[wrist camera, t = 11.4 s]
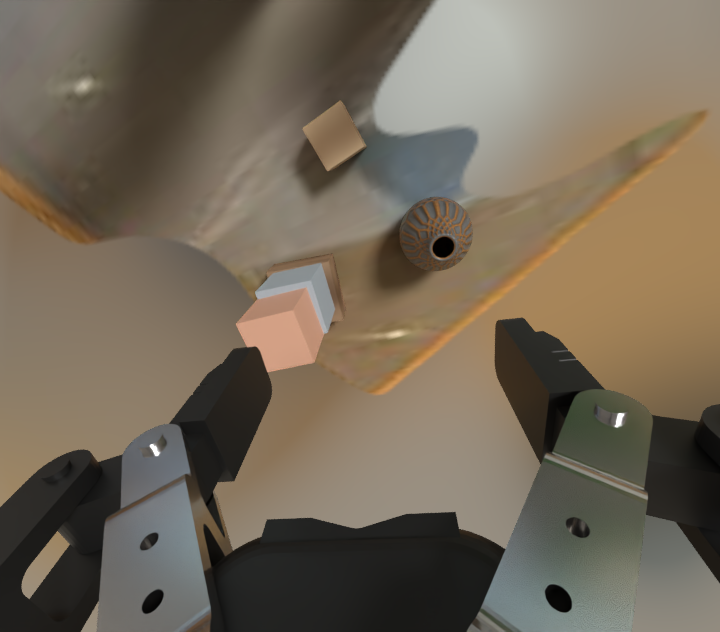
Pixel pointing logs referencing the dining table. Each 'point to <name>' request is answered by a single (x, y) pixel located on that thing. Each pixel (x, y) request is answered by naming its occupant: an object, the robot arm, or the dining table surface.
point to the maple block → (334, 136)
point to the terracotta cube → (283, 329)
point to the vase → (435, 233)
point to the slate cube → (300, 279)
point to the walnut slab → (329, 273)
